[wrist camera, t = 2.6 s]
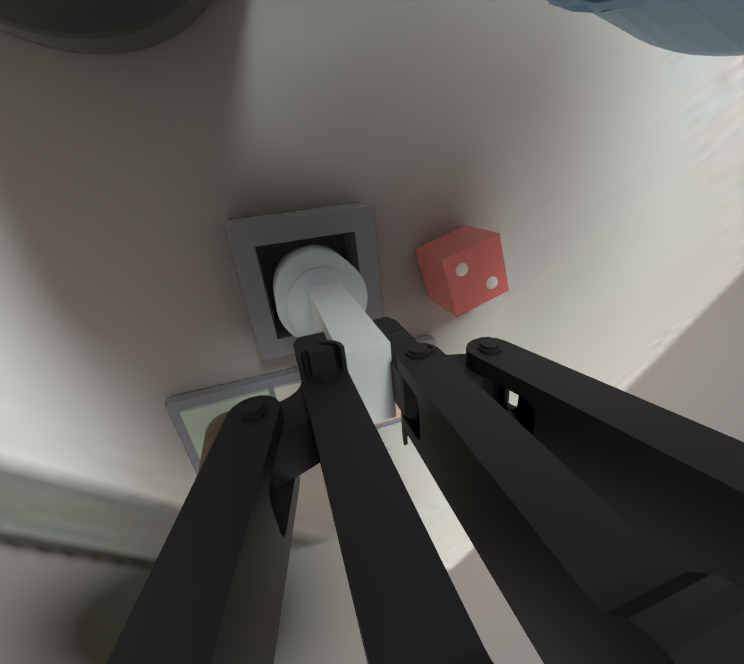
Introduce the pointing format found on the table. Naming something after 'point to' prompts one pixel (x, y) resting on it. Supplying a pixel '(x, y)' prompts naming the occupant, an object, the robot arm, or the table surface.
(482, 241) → the die
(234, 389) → the board
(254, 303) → the dome housing
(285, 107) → the table surface
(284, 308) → the dome
